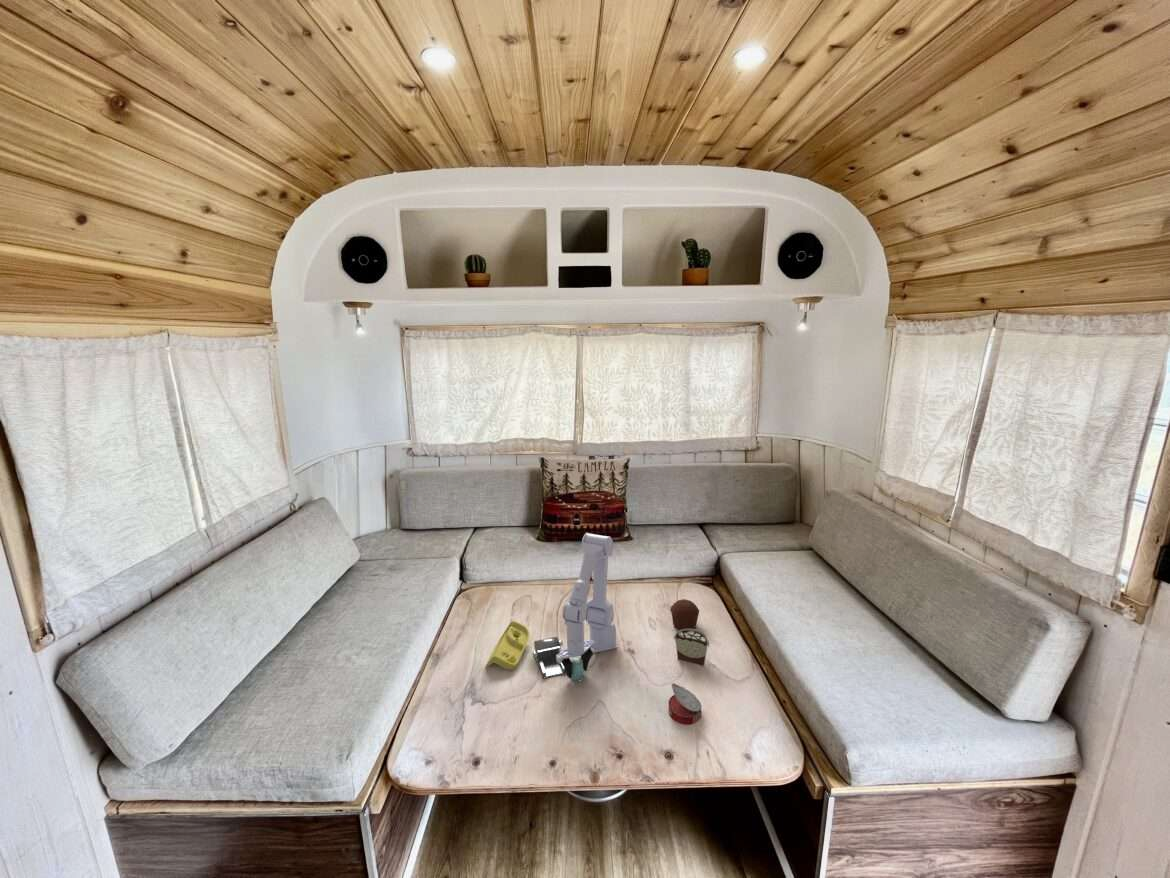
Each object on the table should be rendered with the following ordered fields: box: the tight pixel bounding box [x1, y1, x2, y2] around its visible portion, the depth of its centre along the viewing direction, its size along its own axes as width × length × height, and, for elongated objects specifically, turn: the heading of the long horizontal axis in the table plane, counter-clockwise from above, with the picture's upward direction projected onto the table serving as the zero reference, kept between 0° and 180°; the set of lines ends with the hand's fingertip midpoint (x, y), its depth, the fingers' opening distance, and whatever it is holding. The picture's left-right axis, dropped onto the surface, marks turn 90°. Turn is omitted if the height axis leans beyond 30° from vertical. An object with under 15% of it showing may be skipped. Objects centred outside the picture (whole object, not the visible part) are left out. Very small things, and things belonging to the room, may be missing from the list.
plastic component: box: [485, 620, 531, 671], centre depth 179 cm, size 20×7×10 cm
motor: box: [533, 636, 566, 679], centre depth 173 cm, size 10×15×6 cm
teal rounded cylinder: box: [570, 656, 584, 682], centre depth 165 cm, size 4×4×7 cm
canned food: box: [668, 682, 702, 726], centre depth 148 cm, size 11×10×10 cm
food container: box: [673, 628, 710, 667], centre depth 173 cm, size 12×6×10 cm, turn 65°
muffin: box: [669, 598, 700, 631], centre depth 192 cm, size 12×11×10 cm
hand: (576, 672), depth 165 cm, fingers open, 6 cm apart
